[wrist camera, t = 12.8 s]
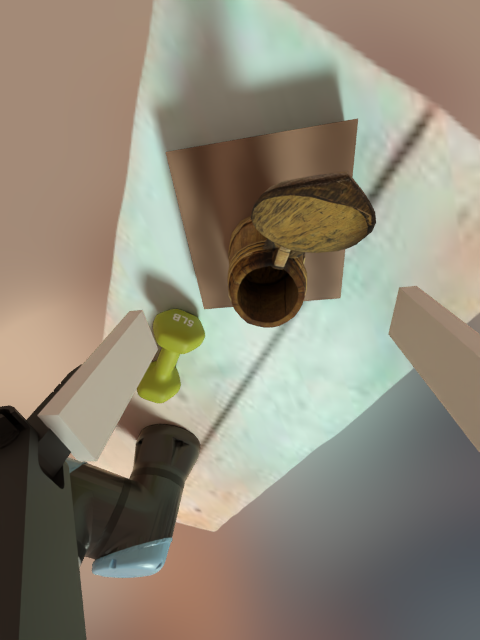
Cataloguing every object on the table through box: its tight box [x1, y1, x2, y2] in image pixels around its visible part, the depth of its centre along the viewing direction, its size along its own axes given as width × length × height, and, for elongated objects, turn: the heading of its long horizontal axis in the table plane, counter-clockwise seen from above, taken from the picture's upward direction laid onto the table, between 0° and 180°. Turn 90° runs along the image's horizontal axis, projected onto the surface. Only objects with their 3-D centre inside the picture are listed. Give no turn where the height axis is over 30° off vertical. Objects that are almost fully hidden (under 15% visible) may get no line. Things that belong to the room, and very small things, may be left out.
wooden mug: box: [227, 172, 376, 327], centre depth 20 cm, size 9×14×18 cm, turn 165°
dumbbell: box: [137, 309, 205, 403], centre depth 40 cm, size 16×8×7 cm, turn 154°
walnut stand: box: [166, 119, 358, 309], centre depth 29 cm, size 18×18×4 cm
